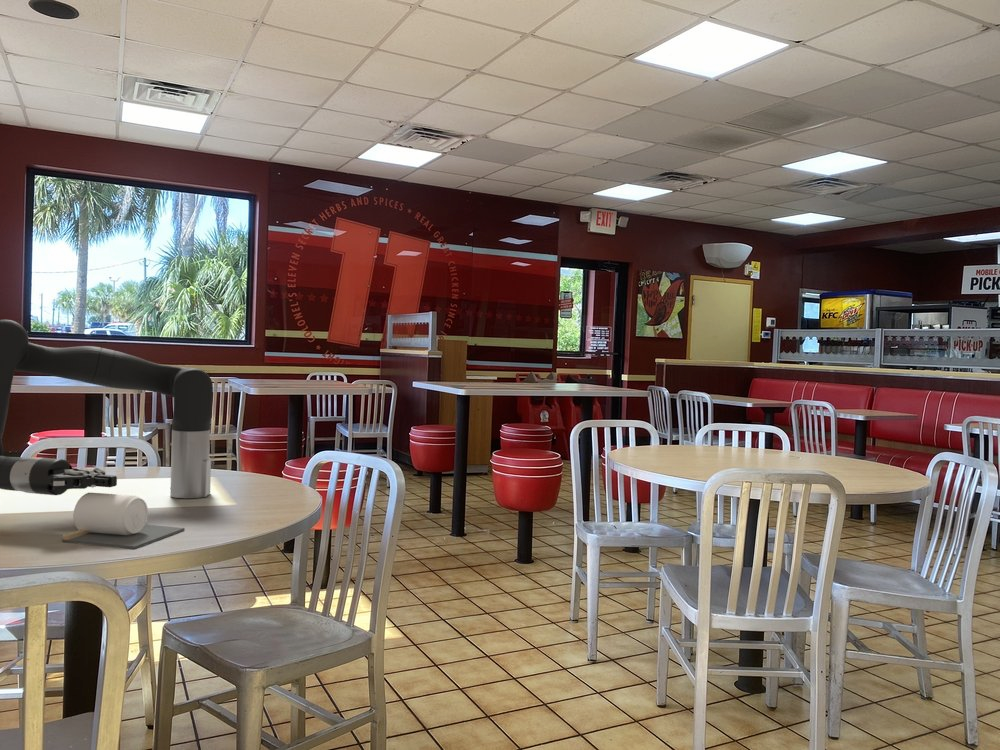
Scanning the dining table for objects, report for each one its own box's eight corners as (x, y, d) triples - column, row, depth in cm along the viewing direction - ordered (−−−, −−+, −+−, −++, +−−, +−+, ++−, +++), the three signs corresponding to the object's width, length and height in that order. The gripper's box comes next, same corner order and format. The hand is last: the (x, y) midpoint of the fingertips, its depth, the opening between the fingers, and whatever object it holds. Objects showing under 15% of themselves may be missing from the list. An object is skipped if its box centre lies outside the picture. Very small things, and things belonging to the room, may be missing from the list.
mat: (62, 541, 150) (62, 535, 150) (118, 524, 166) (118, 518, 166) (134, 548, 147) (134, 542, 147) (184, 530, 163) (184, 524, 163)
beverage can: (93, 484, 160) (143, 488, 157) (103, 517, 163) (153, 520, 161) (65, 506, 153) (118, 510, 150) (77, 539, 156) (129, 544, 153)
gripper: (16, 462, 153) (91, 468, 150) (65, 454, 166) (136, 459, 163) (15, 499, 154) (91, 505, 150) (65, 488, 167) (135, 494, 163)
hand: (114, 481), depth 157 cm, fingers closed
